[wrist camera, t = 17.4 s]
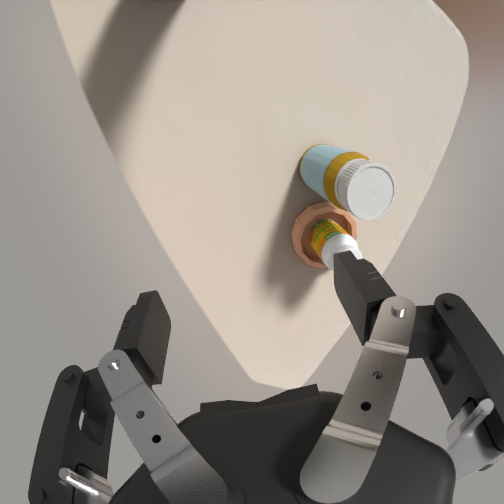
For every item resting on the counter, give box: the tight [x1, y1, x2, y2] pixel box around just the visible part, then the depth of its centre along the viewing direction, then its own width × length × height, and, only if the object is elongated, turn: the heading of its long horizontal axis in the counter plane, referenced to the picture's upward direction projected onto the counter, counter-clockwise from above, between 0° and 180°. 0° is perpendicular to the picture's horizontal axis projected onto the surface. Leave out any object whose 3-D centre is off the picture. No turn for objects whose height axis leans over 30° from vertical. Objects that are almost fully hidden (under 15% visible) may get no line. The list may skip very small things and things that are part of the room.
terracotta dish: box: [291, 201, 357, 269], centre depth 44 cm, size 10×10×2 cm
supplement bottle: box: [308, 219, 363, 270], centre depth 40 cm, size 5×5×10 cm
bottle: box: [299, 144, 396, 221], centre depth 33 cm, size 7×7×15 cm
